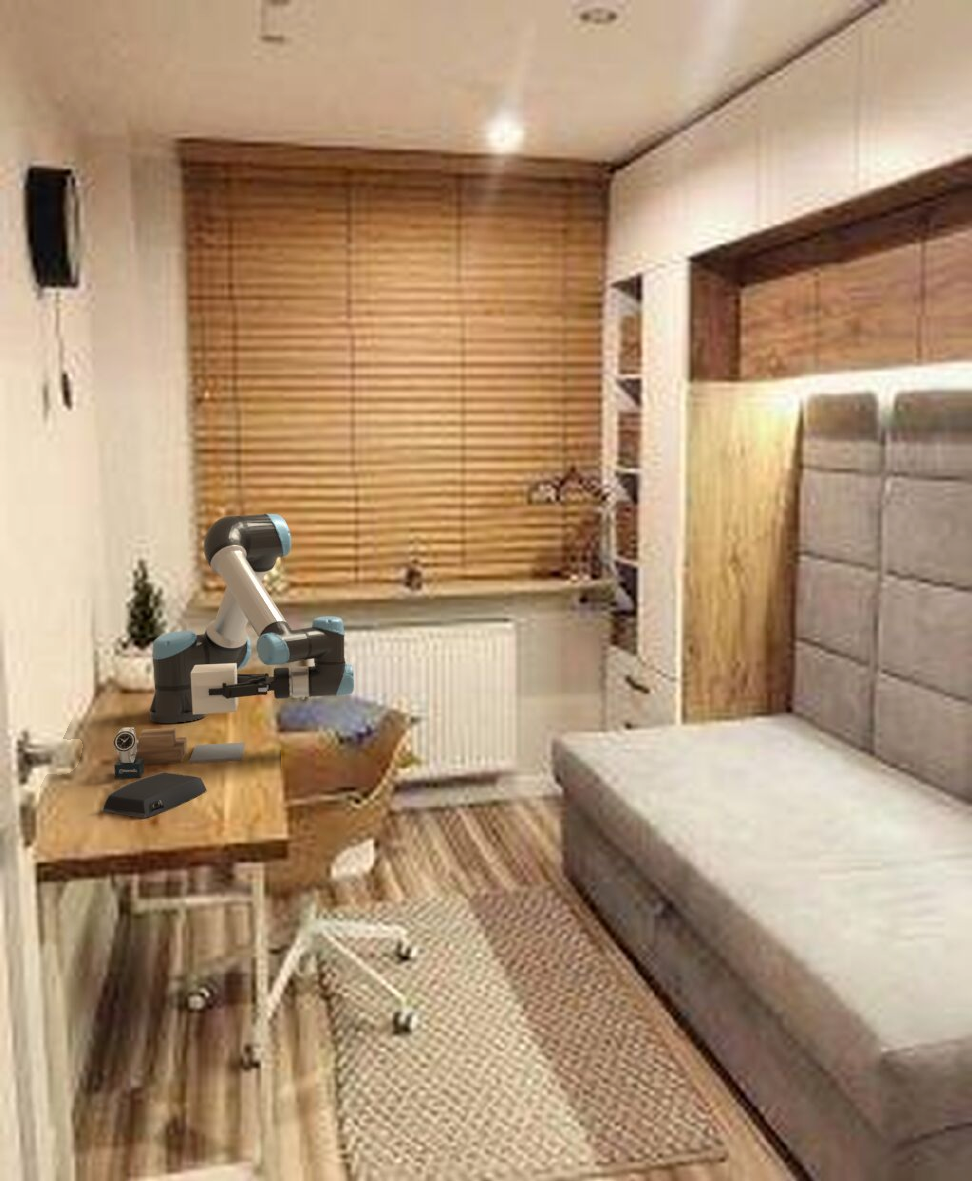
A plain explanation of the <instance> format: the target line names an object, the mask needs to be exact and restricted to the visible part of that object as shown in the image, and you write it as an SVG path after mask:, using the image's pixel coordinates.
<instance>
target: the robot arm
mask: <svg viewBox="0 0 972 1181" xmlns="http://www.w3.org/2000/svg"><path fill="white" fill-rule="evenodd" d="M204 536H205V537H204V541H203V552H204V553H203V554H204V556H205V560H206V562H207V564H208V565H209V567H210V569H211V570H212V572H213V573H215V574H217V575H219V576H220V577H221V579H222V580H223V582H224V583H225V586H226V587H225V590H224V593H223V596H222V599H221V602H220V605H219V608H218V610H217V612H216V616H215V619H213V620H212V621H210V622H209V623H208V624H207V626H206V629H205V632H203V633H202V634H196V632H195V631H193V630H180V631H173V632H168V633H165V634H162V635H160V636H158V637H157V638H155V639H154V640H153V642H152V654H151V657H152V663H153V664H152V666H153V681H154V694H153V696H152V701H151V704H150V708H149V720H150V721H151V722H153V723H157V724H178V723H177V722H184V723H187V722H186V721H191V722H194V721H193V720H195V721H198V720H197V719H199V720H201V719H200V718H202V717H204V716H205V715H206V716H207V714H193V710H192V690H191V671H192V669H193V668H194V666H195V665H207V664H229V663H237V671H239V670H242V669H244V668H245V667H246V666H247V664H249V661H250V659H251V655H252V650H251V648H252V642H251V638H250V636H249V634H248V632H247V630H246V629H247V626H248V623H249V624H250V625H251V627H252V628H253V630H254V632H255V633H256V635H257V637H258V639H257V641H256V644H255V646H256V652H257V655H258V656H257V658H258V659H259V661H260V662H261V663H262V664H264V665H266V666H277V665H285V664H287V663H288V664H289V663H295V662H300V661H306V660H313V662H314V663H313V664H314V665H312V666H309V665H305V666H292V667H291V669H290V668H289V667H275V668H274V669H273V676H270V674H269V673H268V672H266V673H237V684H235V685H226V683H222V685H205V686H194V693H195V698H202V697H222V696H223V697H225V698H227V699H229V698H235V697H238V698H241V697H253V696H266V695H268V692H272V691H273V692H274V693H273V696H274V698H275V699H278V700H280V699H289V698H290V697H292V698H293V699H294V698H300V699H301V700H302V701H303V700H305V698H314V697H338V696H345V695H348V696H349V695H351V694H353V693H354V690H355V675H354V673H355V672H354V665H353V664H349V663H347V662H346V659H345V636H346V635H345V628H344V627H345V626H344V621H343V619H342V617H339V616H333V615H331V616H330V615H329V616H327V615H326V616H318V617H315V618H314V619H313V620H312V624H311V627H306V628H300V629H292V628H291V626H290V625H289V623H288V622H287V620H286V619H285V617H284V616H283V614H282V613H281V611H280V610H279V608H278V606H277V605H276V603H275V602H274V600H273V599H272V597H271V596H270V594H269V592H268V591H267V589H266V587H265V586H264V584H263V581H264V580H265V579H264V578H265V576H266V573H268V572H270V571H272V570H273V569H274V567H275V565H276V563H277V560H278V559H279V558H284V557H287V556H288V555H289V554H290V552H291V548H292V535H291V531H290V528H289V526H288V524H287V522H286V520H285V519H284V518H283V517H282V516H281V515H280V514H276V513H266V512H265V513H261V514H247V515H246V514H245V515H243V514H242V515H227V516H224V517H220V518H219V519H218V520H216V521H214V523H212V525H211V526H210V527H209V528H208V530H207V531H206V534H205V535H204ZM206 716H205V717H206ZM205 717H204V718H205ZM202 719H203V718H202Z"/></svg>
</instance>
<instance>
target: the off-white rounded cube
mask: <svg viewBox="0 0 972 1181" xmlns="http://www.w3.org/2000/svg"><path fill="white" fill-rule="evenodd" d="M237 674H238V670H237V663H229V664H207V665H195V666H194V668H193V669H192V671H191V690H192V710H193V714H206V715H207V714H222V713H223V714H226V713H228V714H229V713H236V712H237V709H238V706H239V697H235V698H229V699H227V698H225V697H223V696H222V697H202V698H195V693H194V686H205V685H222V683H226V685H235V684H237Z"/></svg>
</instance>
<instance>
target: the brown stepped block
mask: <svg viewBox="0 0 972 1181" xmlns="http://www.w3.org/2000/svg"><path fill="white" fill-rule="evenodd" d="M137 740H138V743H137V752H136V756H135V759H143V761H144V765H160V764H178V763H179V764H180V763H182V762H183V759H184V757H185V755H186V752H187V750H188V744H187V742H188V741H187V737H183V736H181V737H180V736H179V737H177V727H169V728H168V727H167V728H151V729H150V728H149V729H147V728H146V729H142V730H141V732H140V734H139V736H138V738H137Z"/></svg>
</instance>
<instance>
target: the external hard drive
mask: <svg viewBox="0 0 972 1181" xmlns="http://www.w3.org/2000/svg"><path fill="white" fill-rule="evenodd" d="M205 791H206V792H207V787H206V786H205V783H204V781H203V779H202V778H201V777H200V776H192V775H186V774H179V773H177V774H176V773H171V772H165V771H164V772H163V771H162V772H159V773H156V774H153V775H149V776H146V777H143V778H140V779H138V780H135V781H132V782H130V783H127V784H126V785H124V786H122V787H120V788H118V789H115V790H114V791H112V792H111V793H109V794H108V795H107V797H106V799H105V801H104V804H103V807H102V812H103V811H104V812H103V813H111V814H116V815H117V814H118V815H123V816H129V817H136V818H142V819H148V818H150V817H153V816H156V815H159V814H160V813H161V814H162V813H165V812H166V810H167V811H168V809H169V810H171V809H170V808H172V809H173V807H174V808H176V807H178V806H180V805H183V804H184V802H185V803H186V801H187V802H189V801H191V800H193V799H195V798H197V797H199V796H201V795H202V793H203V792H204V793H206V792H205ZM204 793H203V794H204ZM200 794H201V795H200ZM198 795H199V796H198ZM192 798H193V799H192ZM190 799H191V800H190ZM182 803H183V804H182Z"/></svg>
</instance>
